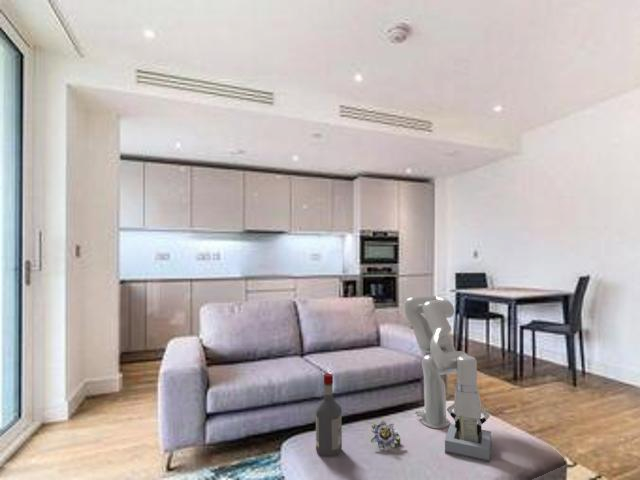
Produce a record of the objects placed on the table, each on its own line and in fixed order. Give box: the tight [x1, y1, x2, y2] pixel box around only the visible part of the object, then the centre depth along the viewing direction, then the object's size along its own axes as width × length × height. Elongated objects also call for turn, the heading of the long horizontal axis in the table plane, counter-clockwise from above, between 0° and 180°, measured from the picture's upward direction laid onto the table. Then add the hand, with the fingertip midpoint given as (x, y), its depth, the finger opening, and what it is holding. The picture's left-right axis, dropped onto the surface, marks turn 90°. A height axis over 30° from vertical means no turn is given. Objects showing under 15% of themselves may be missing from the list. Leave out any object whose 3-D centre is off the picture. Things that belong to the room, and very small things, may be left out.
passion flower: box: [370, 419, 402, 452], centre depth 158 cm, size 11×11×12 cm
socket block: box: [444, 423, 492, 464], centre depth 155 cm, size 16×16×5 cm
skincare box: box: [459, 415, 478, 443], centre depth 155 cm, size 6×4×12 cm
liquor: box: [315, 373, 343, 458], centre depth 154 cm, size 9×9×30 cm
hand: (468, 431), depth 155 cm, fingers closed on skincare box, 7 cm apart
